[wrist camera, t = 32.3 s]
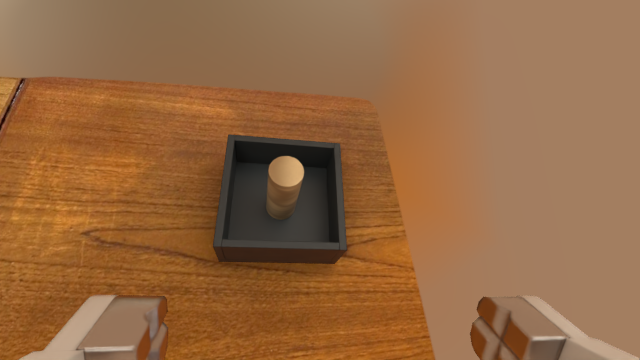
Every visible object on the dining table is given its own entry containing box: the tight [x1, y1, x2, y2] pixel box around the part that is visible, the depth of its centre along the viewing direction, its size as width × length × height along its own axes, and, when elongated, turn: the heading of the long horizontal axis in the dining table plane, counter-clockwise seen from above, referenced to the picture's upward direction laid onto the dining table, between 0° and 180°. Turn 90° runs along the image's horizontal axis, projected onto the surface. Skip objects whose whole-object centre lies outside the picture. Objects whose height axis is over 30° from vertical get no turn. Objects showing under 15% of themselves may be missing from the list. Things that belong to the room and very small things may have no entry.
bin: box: [213, 135, 347, 264], centre depth 38 cm, size 14×14×6 cm
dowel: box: [266, 156, 304, 220], centre depth 36 cm, size 4×4×9 cm
